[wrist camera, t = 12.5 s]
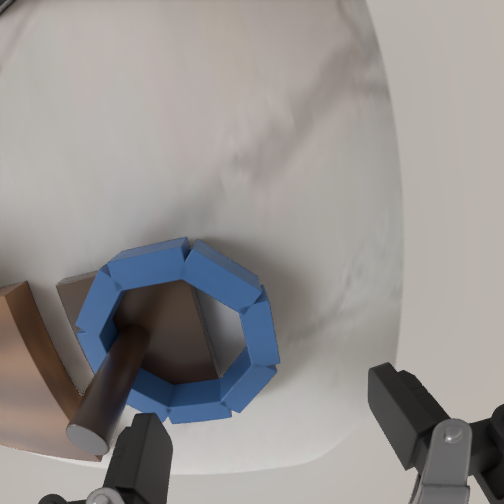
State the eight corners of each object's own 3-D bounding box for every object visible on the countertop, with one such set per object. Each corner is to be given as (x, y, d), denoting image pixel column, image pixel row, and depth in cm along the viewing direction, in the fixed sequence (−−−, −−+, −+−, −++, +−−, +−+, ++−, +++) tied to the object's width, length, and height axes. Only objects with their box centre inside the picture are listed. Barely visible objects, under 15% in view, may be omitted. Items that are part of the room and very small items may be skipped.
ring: (72, 263, 16) (53, 275, 14) (251, 222, 16) (256, 230, 14) (131, 404, 19) (124, 426, 17) (282, 384, 19) (288, 406, 17)
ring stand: (63, 278, 17) (-31, 354, 8) (185, 250, 18) (140, 338, 8) (109, 385, 20) (65, 486, 10) (220, 372, 20) (221, 494, 10)
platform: (-61, 305, 17) (-78, 316, 14) (27, 280, 17) (4, 295, 14) (5, 428, 21) (-5, 443, 18) (108, 439, 21) (100, 462, 18)
